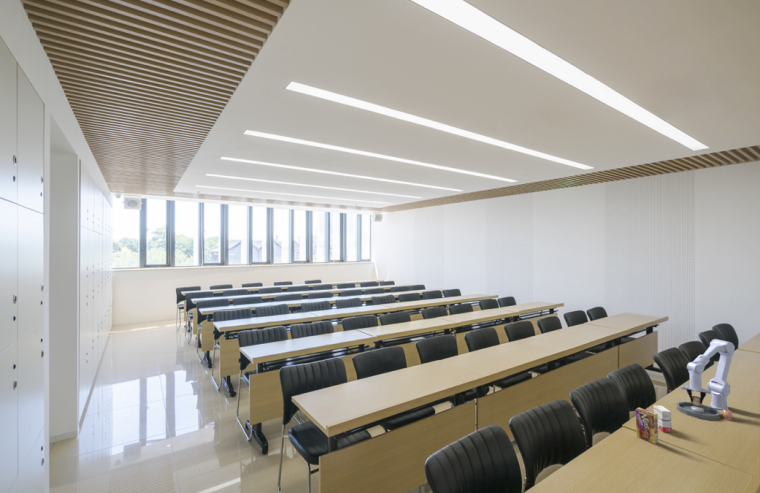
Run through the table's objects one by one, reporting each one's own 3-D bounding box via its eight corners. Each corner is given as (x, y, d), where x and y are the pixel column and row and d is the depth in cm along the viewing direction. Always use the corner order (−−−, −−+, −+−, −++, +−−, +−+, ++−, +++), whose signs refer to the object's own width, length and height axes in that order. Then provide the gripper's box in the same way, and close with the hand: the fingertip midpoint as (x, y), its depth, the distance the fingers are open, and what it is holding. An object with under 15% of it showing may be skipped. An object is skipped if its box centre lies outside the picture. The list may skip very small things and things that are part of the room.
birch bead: (692, 403, 226) (691, 395, 226) (700, 404, 223) (700, 396, 224) (692, 405, 223) (692, 397, 223) (701, 406, 220) (700, 398, 220)
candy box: (659, 442, 184) (658, 413, 184) (654, 444, 182) (653, 415, 183) (640, 434, 192) (639, 407, 192) (636, 436, 190) (635, 408, 191)
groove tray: (676, 403, 232) (676, 399, 233) (717, 411, 220) (716, 407, 220) (677, 413, 217) (677, 409, 217) (722, 422, 204) (721, 418, 204)
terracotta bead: (722, 416, 212) (722, 408, 212) (731, 418, 210) (731, 410, 210) (723, 419, 209) (723, 411, 209) (733, 421, 206) (732, 412, 207)
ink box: (672, 432, 194) (671, 411, 194) (662, 432, 195) (661, 411, 195) (663, 425, 202) (662, 405, 202) (653, 424, 203) (653, 404, 203)
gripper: (681, 380, 225) (682, 401, 225) (711, 385, 216) (712, 407, 216) (680, 377, 231) (681, 398, 230) (710, 382, 222) (711, 403, 221)
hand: (696, 402), depth 223 cm, fingers closed on birch bead, 4 cm apart
